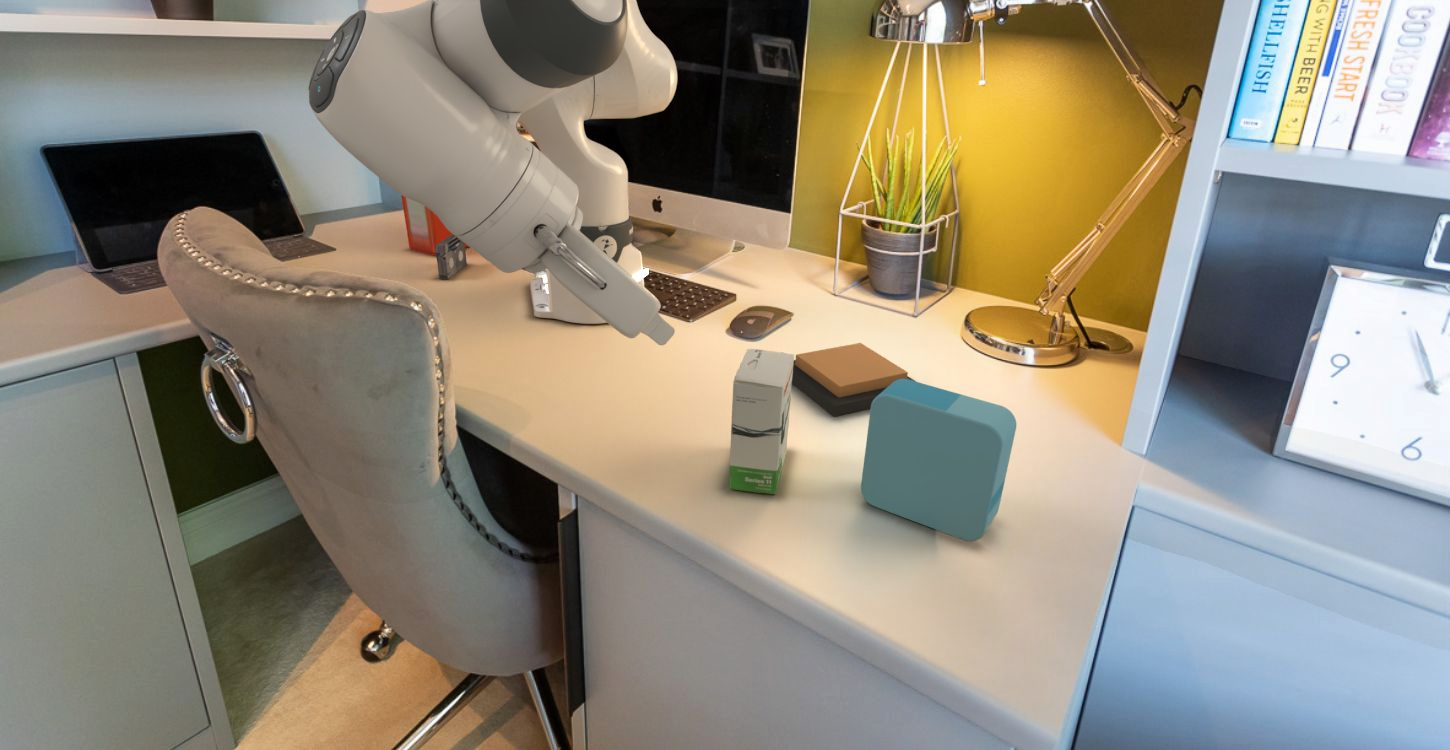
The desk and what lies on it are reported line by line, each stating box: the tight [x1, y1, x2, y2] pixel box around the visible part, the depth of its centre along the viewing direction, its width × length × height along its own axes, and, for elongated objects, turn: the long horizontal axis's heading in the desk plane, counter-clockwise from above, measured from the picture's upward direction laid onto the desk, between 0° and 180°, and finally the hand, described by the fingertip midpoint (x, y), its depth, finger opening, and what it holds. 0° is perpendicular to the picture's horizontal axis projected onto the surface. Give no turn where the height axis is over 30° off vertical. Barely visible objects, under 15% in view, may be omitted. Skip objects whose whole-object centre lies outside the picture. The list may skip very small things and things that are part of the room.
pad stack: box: [792, 342, 917, 418], centre depth 98 cm, size 13×13×3 cm
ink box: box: [728, 348, 795, 495], centre depth 78 cm, size 9×5×12 cm, turn 168°
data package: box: [860, 379, 1017, 542], centre depth 72 cm, size 12×4×12 cm, turn 56°
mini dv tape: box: [435, 234, 468, 280], centre depth 133 cm, size 8×2×6 cm, turn 175°
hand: (645, 316), depth 67 cm, fingers open, 8 cm apart
